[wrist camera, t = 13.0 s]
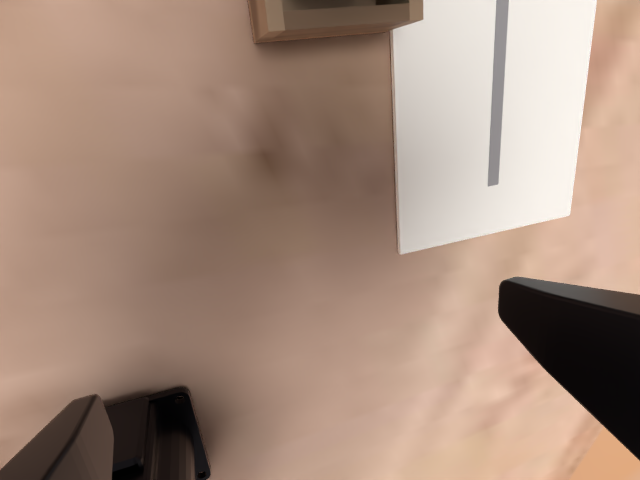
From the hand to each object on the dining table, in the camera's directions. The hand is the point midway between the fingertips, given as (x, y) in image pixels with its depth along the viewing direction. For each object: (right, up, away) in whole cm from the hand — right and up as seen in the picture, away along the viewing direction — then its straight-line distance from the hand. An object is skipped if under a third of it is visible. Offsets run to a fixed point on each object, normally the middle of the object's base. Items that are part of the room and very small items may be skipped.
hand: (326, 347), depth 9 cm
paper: (+9, +10, +13) cm, 19 cm away
